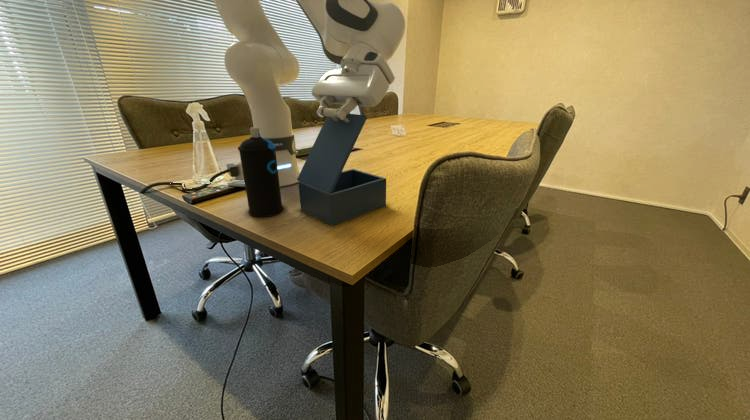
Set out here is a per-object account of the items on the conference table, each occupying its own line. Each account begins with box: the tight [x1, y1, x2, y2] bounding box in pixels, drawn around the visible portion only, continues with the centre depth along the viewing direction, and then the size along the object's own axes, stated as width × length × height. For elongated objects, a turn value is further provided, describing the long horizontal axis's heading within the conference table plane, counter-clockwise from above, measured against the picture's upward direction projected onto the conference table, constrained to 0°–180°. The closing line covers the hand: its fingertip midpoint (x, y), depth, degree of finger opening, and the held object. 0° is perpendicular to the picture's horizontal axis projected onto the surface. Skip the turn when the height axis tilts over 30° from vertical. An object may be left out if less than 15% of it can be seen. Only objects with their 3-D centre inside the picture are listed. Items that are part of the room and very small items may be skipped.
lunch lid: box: [297, 107, 368, 194], centre depth 67 cm, size 18×13×5 cm
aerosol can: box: [237, 126, 284, 218], centre depth 71 cm, size 8×8×20 cm
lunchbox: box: [297, 168, 387, 227], centre depth 76 cm, size 18×13×7 cm
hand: (328, 116), depth 66 cm, fingers closed on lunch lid, 5 cm apart
